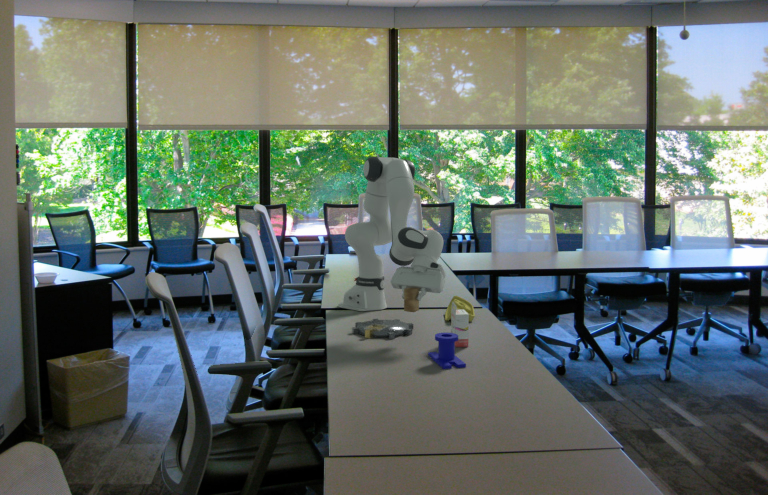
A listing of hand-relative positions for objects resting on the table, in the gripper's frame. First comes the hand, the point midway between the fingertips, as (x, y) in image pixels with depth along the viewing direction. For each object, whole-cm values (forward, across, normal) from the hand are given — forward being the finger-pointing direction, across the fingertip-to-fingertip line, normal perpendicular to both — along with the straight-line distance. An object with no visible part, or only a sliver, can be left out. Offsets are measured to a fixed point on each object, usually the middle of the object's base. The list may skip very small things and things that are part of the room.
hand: (410, 299), depth 223 cm
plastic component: (-19, +2, +42) cm, 46 cm away
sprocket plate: (+6, -16, +16) cm, 23 cm away
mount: (+23, +21, -1) cm, 31 cm away
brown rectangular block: (+3, 0, +4) cm, 4 cm away
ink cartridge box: (+8, +18, +14) cm, 24 cm away
